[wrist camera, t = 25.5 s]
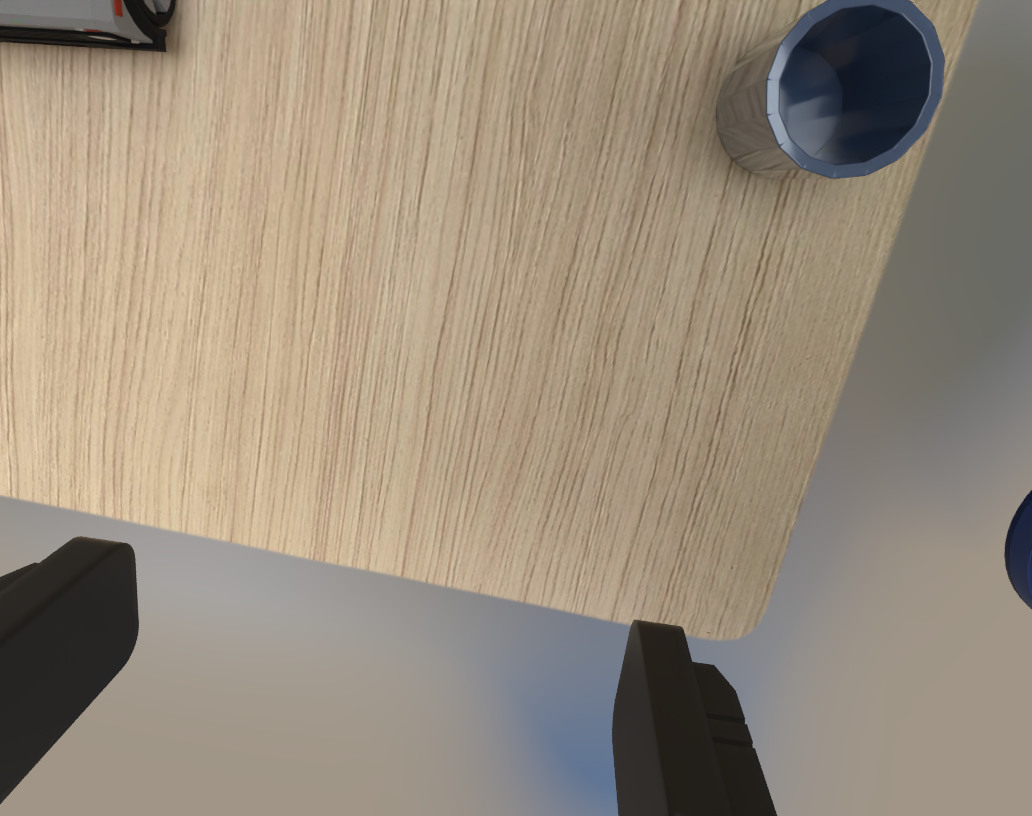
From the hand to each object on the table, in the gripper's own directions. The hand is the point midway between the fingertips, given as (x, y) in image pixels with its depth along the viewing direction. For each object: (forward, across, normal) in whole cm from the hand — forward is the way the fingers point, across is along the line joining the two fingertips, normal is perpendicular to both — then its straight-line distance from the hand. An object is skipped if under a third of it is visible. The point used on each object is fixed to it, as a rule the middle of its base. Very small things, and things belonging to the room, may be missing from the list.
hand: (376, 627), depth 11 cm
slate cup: (+28, -12, -12) cm, 33 cm away
